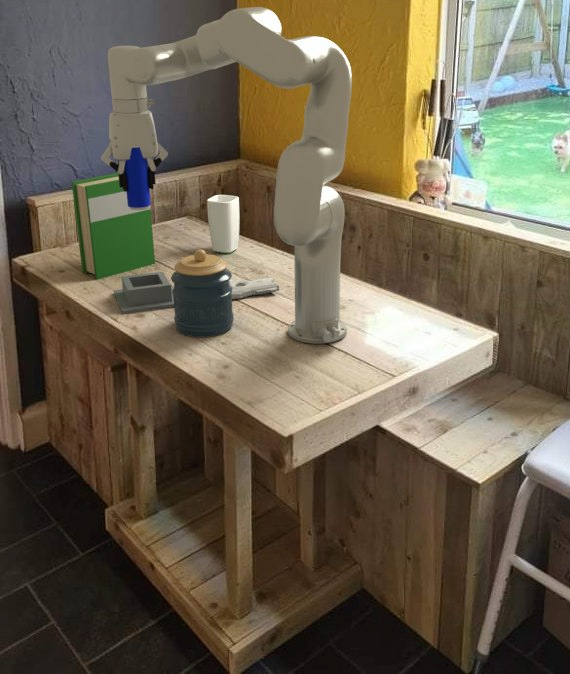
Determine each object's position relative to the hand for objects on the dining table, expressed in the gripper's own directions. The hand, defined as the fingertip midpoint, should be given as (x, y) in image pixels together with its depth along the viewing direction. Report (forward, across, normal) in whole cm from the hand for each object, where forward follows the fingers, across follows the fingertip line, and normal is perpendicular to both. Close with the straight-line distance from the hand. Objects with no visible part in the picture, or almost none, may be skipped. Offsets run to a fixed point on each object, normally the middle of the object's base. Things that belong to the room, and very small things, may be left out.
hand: (137, 188), depth 187 cm
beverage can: (+5, 0, 0) cm, 5 cm away
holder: (+27, 0, 0) cm, 27 cm away
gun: (+28, -22, +3) cm, 35 cm away
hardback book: (+27, +3, -26) cm, 37 cm away
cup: (+27, -27, -30) cm, 48 cm away
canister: (+27, -9, +20) cm, 35 cm away
